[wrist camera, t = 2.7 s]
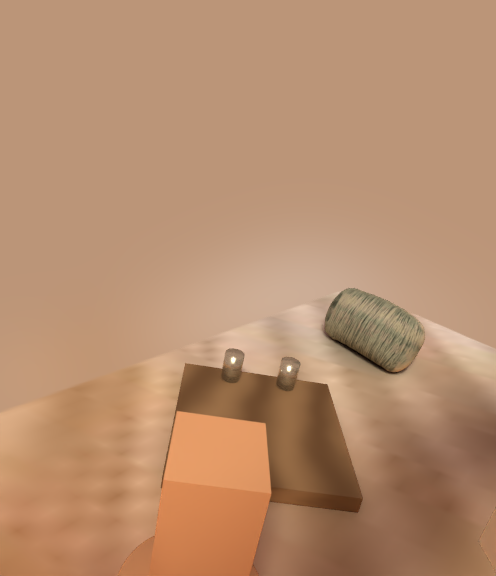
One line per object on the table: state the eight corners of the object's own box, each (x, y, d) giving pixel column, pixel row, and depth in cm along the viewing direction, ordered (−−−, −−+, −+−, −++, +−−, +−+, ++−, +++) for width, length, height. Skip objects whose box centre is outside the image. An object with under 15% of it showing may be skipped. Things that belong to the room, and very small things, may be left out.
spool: (301, 313, 64) (351, 260, 62) (331, 329, 71) (377, 282, 69) (364, 386, 56) (425, 327, 54) (391, 396, 63) (446, 345, 61)
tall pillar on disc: (257, 551, 33) (295, 406, 28) (263, 706, 24) (320, 536, 20) (128, 536, 32) (147, 385, 27) (89, 691, 23) (107, 511, 19)
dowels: (292, 381, 51) (299, 358, 50) (295, 392, 49) (301, 368, 48) (221, 371, 50) (225, 347, 49) (220, 381, 48) (225, 357, 47)
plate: (324, 395, 52) (327, 384, 52) (357, 512, 37) (362, 498, 37) (183, 374, 51) (185, 363, 50) (160, 487, 36) (163, 473, 36)
